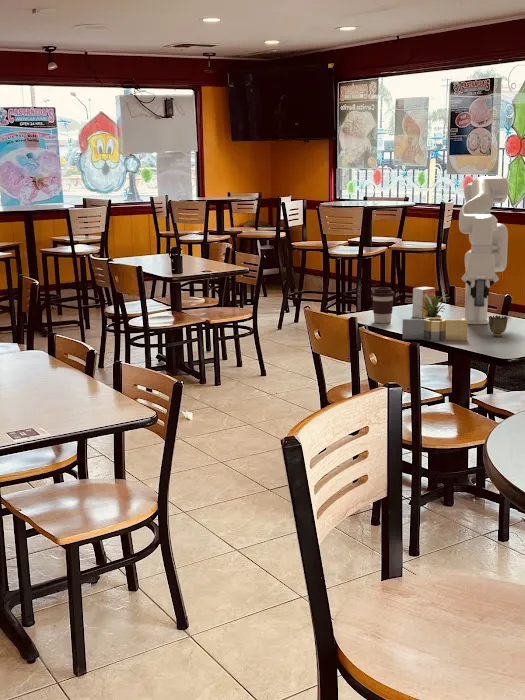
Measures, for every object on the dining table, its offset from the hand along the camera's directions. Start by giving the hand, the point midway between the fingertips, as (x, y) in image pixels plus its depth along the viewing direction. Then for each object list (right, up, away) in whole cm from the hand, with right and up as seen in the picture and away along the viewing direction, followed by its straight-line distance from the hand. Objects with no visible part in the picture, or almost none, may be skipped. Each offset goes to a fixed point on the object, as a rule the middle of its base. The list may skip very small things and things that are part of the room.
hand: (479, 297), depth 330 cm
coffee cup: (-30, -8, +50) cm, 59 cm away
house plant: (-11, -12, +30) cm, 34 cm away
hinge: (-15, -16, +13) cm, 25 cm away
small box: (-10, -5, +62) cm, 63 cm away
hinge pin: (0, -3, +1) cm, 3 cm away
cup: (+11, -15, +17) cm, 25 cm away
